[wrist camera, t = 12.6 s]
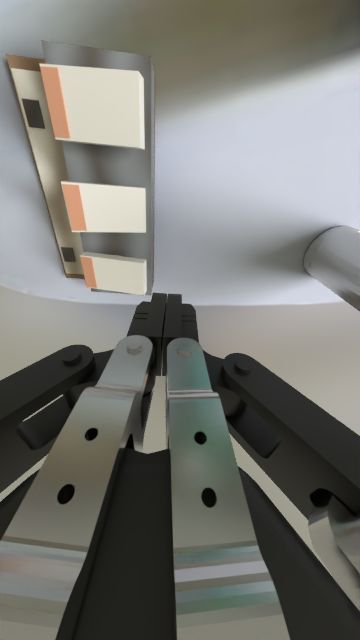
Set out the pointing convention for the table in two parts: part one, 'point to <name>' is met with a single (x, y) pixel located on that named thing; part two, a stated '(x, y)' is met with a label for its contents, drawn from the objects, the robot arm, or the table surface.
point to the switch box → (87, 155)
